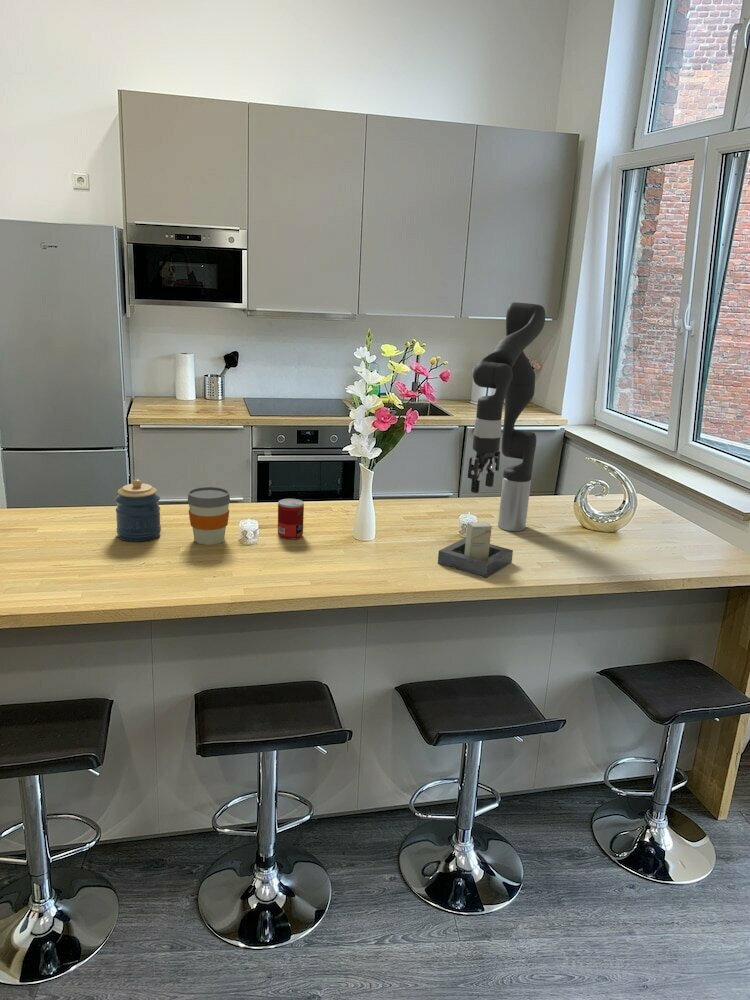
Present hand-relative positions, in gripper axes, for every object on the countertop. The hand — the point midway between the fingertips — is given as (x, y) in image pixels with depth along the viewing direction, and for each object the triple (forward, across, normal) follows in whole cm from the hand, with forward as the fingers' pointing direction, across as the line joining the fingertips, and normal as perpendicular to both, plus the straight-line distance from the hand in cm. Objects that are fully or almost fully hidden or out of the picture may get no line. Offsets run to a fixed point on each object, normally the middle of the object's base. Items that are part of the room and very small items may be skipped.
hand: (482, 489), depth 223 cm
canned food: (+23, +20, -55) cm, 63 cm away
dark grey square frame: (+23, 0, 0) cm, 23 cm away
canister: (+23, +52, -88) cm, 105 cm away
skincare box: (+23, 0, 0) cm, 23 cm away
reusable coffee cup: (+23, +40, -70) cm, 84 cm away
